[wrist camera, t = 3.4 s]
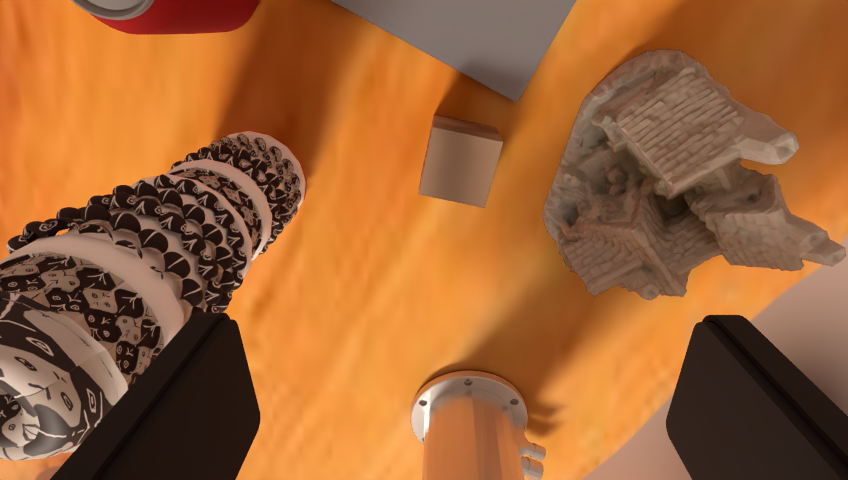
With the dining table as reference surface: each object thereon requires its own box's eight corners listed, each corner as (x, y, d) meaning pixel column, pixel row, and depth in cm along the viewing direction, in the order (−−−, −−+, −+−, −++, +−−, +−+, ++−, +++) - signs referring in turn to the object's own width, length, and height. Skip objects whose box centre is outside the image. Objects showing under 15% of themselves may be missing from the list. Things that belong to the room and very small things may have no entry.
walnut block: (495, 127, 35) (503, 142, 30) (479, 185, 37) (484, 207, 33) (434, 114, 35) (432, 126, 30) (421, 173, 37) (418, 194, 32)
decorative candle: (276, 108, 35) (-27, 255, 12) (329, 209, 38) (169, 466, 16) (181, 148, 37) (-235, 342, 14) (240, 242, 40) (-17, 514, 18)
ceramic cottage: (707, 21, 31) (884, 43, 18) (743, 212, 38) (890, 329, 25) (499, 117, 35) (520, 191, 22) (564, 273, 42) (609, 399, 29)
